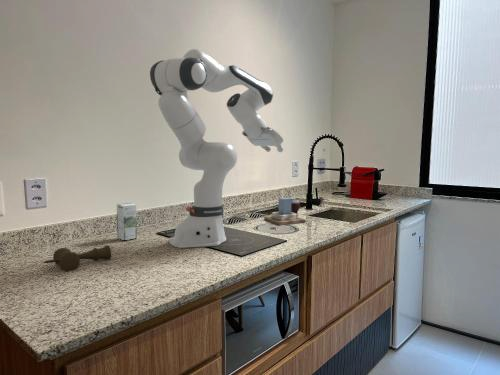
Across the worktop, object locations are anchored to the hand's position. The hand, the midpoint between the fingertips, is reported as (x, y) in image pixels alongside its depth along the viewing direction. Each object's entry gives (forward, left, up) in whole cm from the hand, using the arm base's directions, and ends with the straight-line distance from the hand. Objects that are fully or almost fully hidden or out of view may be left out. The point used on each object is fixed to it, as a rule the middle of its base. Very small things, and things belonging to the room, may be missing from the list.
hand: (275, 151), depth 165 cm
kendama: (-81, -15, -36) cm, 89 cm away
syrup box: (-62, +12, -36) cm, 72 cm away
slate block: (+14, +15, -34) cm, 40 cm away
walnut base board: (+14, +15, -35) cm, 41 cm away
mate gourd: (+28, +30, -36) cm, 54 cm away
